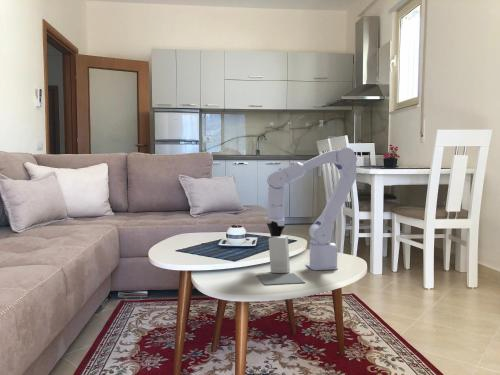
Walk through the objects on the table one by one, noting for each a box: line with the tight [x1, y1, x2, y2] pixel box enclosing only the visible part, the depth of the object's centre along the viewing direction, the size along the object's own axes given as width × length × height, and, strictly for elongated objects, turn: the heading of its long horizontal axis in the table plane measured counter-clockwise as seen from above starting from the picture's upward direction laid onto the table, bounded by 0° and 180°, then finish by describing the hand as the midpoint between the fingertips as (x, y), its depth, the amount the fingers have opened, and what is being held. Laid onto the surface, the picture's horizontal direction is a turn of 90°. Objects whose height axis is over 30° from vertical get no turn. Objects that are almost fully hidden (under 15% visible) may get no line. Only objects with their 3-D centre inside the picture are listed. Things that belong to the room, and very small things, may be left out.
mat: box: [255, 272, 306, 286], centre depth 134 cm, size 13×11×1 cm
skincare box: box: [268, 235, 291, 274], centre depth 143 cm, size 6×4×12 cm
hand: (275, 243), depth 149 cm, fingers closed
